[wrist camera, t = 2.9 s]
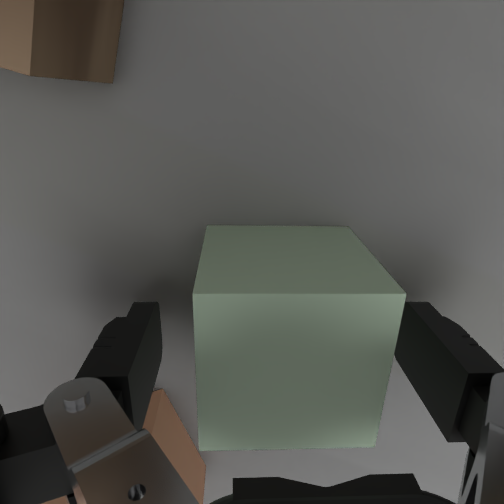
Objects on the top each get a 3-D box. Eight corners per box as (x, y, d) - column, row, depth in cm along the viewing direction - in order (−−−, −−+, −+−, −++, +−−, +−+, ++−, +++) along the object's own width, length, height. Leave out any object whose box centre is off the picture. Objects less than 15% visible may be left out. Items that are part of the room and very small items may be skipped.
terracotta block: (56, 419, 16) (-14, 546, 12) (163, 387, 16) (133, 506, 11) (109, 491, 18) (66, 625, 14) (206, 464, 18) (195, 594, 13)
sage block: (207, 224, 13) (192, 293, 9) (347, 225, 13) (406, 293, 9) (209, 342, 15) (199, 451, 10) (332, 341, 15) (374, 447, 11)
